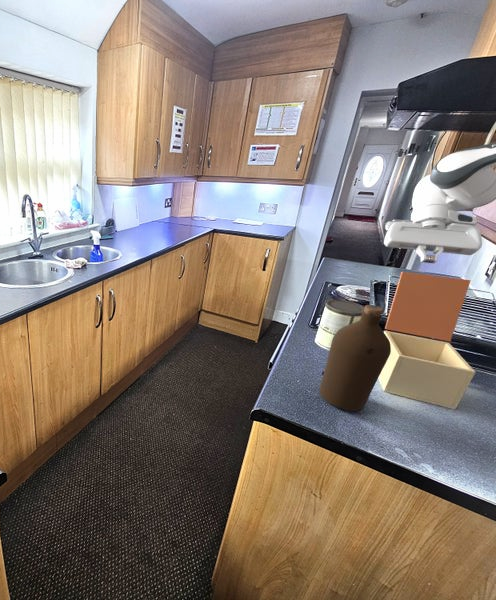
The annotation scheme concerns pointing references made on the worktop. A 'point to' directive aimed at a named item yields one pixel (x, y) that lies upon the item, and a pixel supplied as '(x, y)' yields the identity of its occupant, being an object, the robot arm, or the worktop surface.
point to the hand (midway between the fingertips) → (428, 261)
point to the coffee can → (336, 319)
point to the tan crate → (425, 370)
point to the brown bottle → (355, 361)
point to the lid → (427, 305)
